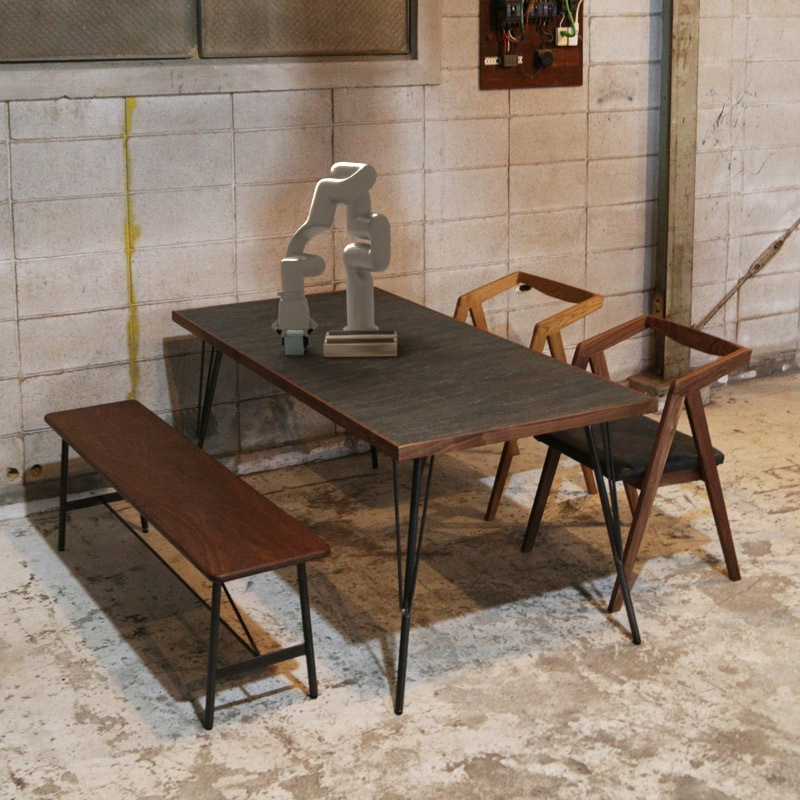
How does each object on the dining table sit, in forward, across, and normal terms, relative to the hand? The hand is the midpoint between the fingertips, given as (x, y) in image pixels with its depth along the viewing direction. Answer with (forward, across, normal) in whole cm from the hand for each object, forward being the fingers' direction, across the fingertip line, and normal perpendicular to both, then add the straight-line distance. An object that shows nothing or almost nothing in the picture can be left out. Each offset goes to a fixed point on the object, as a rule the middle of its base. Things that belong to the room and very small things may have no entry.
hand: (295, 347), depth 432 cm
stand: (+1, +22, 0) cm, 22 cm away
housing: (+1, 0, 0) cm, 1 cm away
